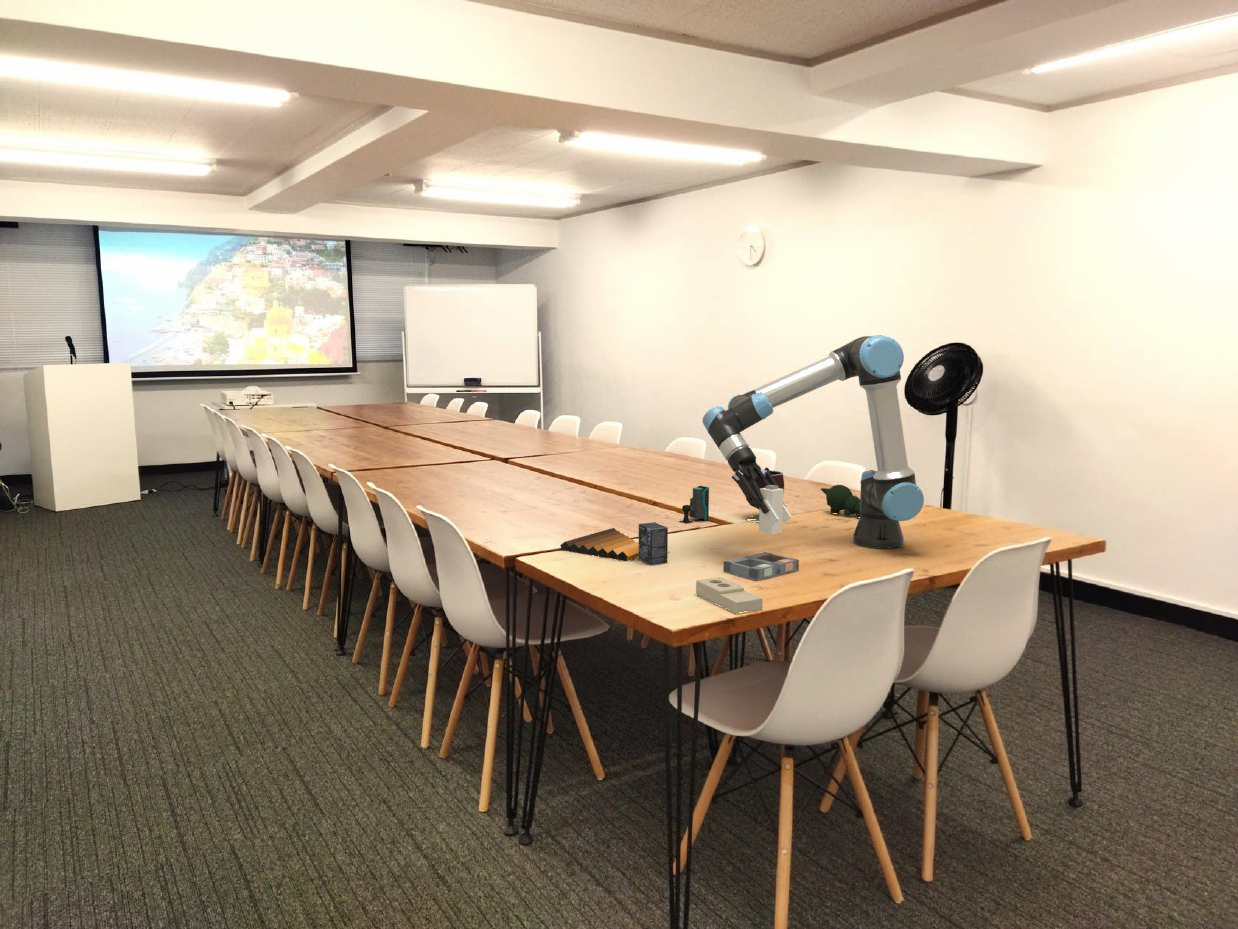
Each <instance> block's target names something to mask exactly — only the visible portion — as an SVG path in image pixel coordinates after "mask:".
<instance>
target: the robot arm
mask: <svg viewBox="0 0 1238 929" xmlns="http://www.w3.org/2000/svg"><path fill="white" fill-rule="evenodd" d="M904 355H905V354H904V350H903V348H902V346H901V345H900V343H898V341H896V340H895V339H894V338H892V337H890V336H886V335H881V334H879V335H865V336H860V337H857V338H855V339H853V340H851V341H850V342H848V343H846V344H844V345H842V346H839V347H838V348H836V349H835V350H832V351H830V352H829V353H828V356H826V357H824V358H821V359H820V360H818V361H816V362H813V363H810V364H809V365H806V366H804V367H802V368H800V369H797V370H794V371H793V372H790V373H788V374H786V375H784V376H781V377H779V378H777V379H775V380H772V381H769V382H768V383H766V384H763V385H761V386H758V387H756V388H753V389H752V390H750V391H747V392H745V393H743V394H737V395H734V396H733V397H732V398H731V399H729V402H728V404H727V409H725V408H724V407H722V406H719V405H718V406H716V407H712V408H710V409H708V411H706V412H705V413H704V415H703V417H702V419H701V420H702V424H703V426H704V428H705V429H706V431H707V433H708V435H709V436H710V437H711V439H712V441H713V442H714V443H715V445H716V446H717V449H719V451H720V453H721V454H722V456H723V457H724V459H725V460H726V461H727V464H728V465H729V467H730V468H731V470H732V471H733V473H734V474H733V475H731V478H732V479H733V481H734V482H735V483H736V484H737V486H738V487H739V488H740V490H741V492H742V493H743V495H744V497H745V496H746V497H745V499H746V498H747V499H748V501H749V502H750V504H753V503H754V506H755V507H757V506H759V507H760V509H761V511H762V512H763V513H764V514H765V515H766V517H767V519H768V520H769V522H770V523H771V525H774V524H775V523H776V522H777V521H778V520H779V518H778V516H777V515H776V513H775V512H774V510H773V508H772V507H771V506H770V504H769V502H768V501H767V500H764V498H763V496H762V494H761V492H760V489H759V487H758V485H759V486H760V488H766V486H768V485H775V486H778V484H777V483H776V481H775V480H774V478H773V477H772V475H771V473H770V468H769V467H765V468H761V466H760V465H759V464H758V463H757V457H756V455H755V453H754V452H753V450H752V449H751V447H750V446H749V444H748V443H747V441H746V440H745V438H744V436H743V435H742V433H741V432H744V431H746V430H747V429H749V428H750V427H752V426H754V425H756V424H758V423H760V422H761V421H763V420H766V419H767V418H768V417H769V416H771V415H772V414H773V413H774V408H776V407H779V406H781V405H783V404H786V403H787V402H790V401H792V400H794V399H796V398H800V397H802V396H804V395H806V394H808V393H810V392H813V391H814V390H817V389H820V388H822V387H825V386H827V385H829V384H831V383H834V382H836V381H842V382H843V381H846V380H849V379H851V378H856V377H858V378H857V379H858V382H859V383H858V384H859V387H861V388H862V389H863V390H865V394H866V395H865V396H866V402H867V408H868V409H867V410H868V414H869V421H870V427H871V429H870V430H871V433H872V434H871V435H872V441H873V448H874V453H875V454H874V456H875V461H876V468H877V470H874V471H870V470H864V471H863V472H862V474H861V478H860V482H859V483H860V493H859V494H860V495H859V496H860V497H859V499H860V518H859V519H858V522H857V524H856V527H855V529H854V533H853V534H852V542H853V544H855V545H857V544H858V545H857V546H860V545H861V547H865V548H871V547H872V548H874V549H896V548H897V547H898V548H901V547H903V546H904V541H905V539H904V535H903V532H902V531H903V530H902V528H901V524H900V522H905V521H910V520H911V519H913V518H914V519H915V517H916V516H917V515H918V514H919V513H920V512H921V511H922V509H923V506H924V503H925V498H924V493H923V491H922V490H921V488H920V487H919V485H917V481H916V473H915V471H914V469H912V468H911V467H910V466H909V465H908V457H907V450H906V443H905V437H904V436H905V435H904V431H903V423H902V422H903V421H902V414H901V409H900V402H899V393H898V388H897V386H898V385H899V383H900V382H901V380H902V377H901V376H902V374H901V369H902V366H903V364H904V358H905V357H904ZM759 479H760V480H759ZM758 480H759V481H758ZM778 488H780V487H779V486H778ZM752 497H753V498H752ZM763 500H764V501H763ZM748 501H747V502H748ZM750 504H749V505H750ZM755 507H754V508H755ZM791 519H792V514H791V513H790V511H789V510H788V509H787V506H786V505H785V502H783V523H784V524H785V523H786V524H787V523H788V521H789V520H791Z"/></svg>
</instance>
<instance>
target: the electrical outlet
mask: <svg viewBox="0 0 1238 929" xmlns="http://www.w3.org/2000/svg"><path fill="white" fill-rule="evenodd" d="M696 594H697V595H696ZM695 595H696V596H698V595H699V596H698V597H700V598H702V597H703V598H702V599H704V598H705V599H704V600H705V601H708V600H709V601H708V602H710V601H711V602H710V603H712V602H713V603H712V604H714V603H716V604H718V605H720V606H722V607H724V608H727V609H729V610H730V611H729V610H728V611H729V612H731V611H733V612H735V613H739V612H744V611H754V612H757V611H756V610H761V611H763V603H764V602H763V601H764V600H763V598H762V597H760V596H758V595H755V594H753V593H750V592H748V591H747V590H745V587H744V586H741V585H740V584H737V583H735V582H732V581H730V580H728V579H725V578H723V577H721V576H719V577H717V576H716V577H711V578H704V579H702V578H701V579H697V580H696V582H695ZM716 604H715V605H716ZM718 605H717V606H718ZM720 606H719V607H720ZM722 607H721V608H722ZM724 608H723V609H724ZM733 612H732V613H733ZM735 613H734V614H735Z"/></svg>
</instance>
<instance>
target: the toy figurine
mask: <svg viewBox="0 0 1238 929" xmlns="http://www.w3.org/2000/svg"><path fill="white" fill-rule="evenodd" d="M869 471H875V470H873V469H870V470H869ZM820 491H821V492H823V494H824V495H825V499H826V500H825V501H826V506H828V507H829V508H830V510H829V511H830V513H831V514H832V513H838V514H840V512H841V511H843V515H844V516H846V517H850V516H851V515H855V518H856V517H860V497H859V496H857V495H853V492H852V491H851V489H850V488H849V487H848V486H847V485H846V486H845V485H844V484H835V485H833V486H831V487H829V488H826V487H822V488H820Z"/></svg>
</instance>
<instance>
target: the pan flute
mask: <svg viewBox="0 0 1238 929" xmlns="http://www.w3.org/2000/svg"><path fill="white" fill-rule="evenodd" d="M560 548H561V551H564V552H570V553H575V554H579V553H580V554H581V555H586V556H587V555H589V556H592V555H594V557H600V558H604V559H609V558H612V559H611V560H615V559H616V560H618V561H621V562H629V561H632V560H635V559H639V541H635V540H634V539H633V538H631V537H629V536H628V535H625V534H624V533H623V532H620V530H617V529H616V528H615V527H611V528H608V529H604V530H601V531H597V532H594V533H591V534H587V535H584V536H580V537H577V538H572V539H570V540H566V541H563V542H562V543H560ZM598 555H599V556H598Z"/></svg>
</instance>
